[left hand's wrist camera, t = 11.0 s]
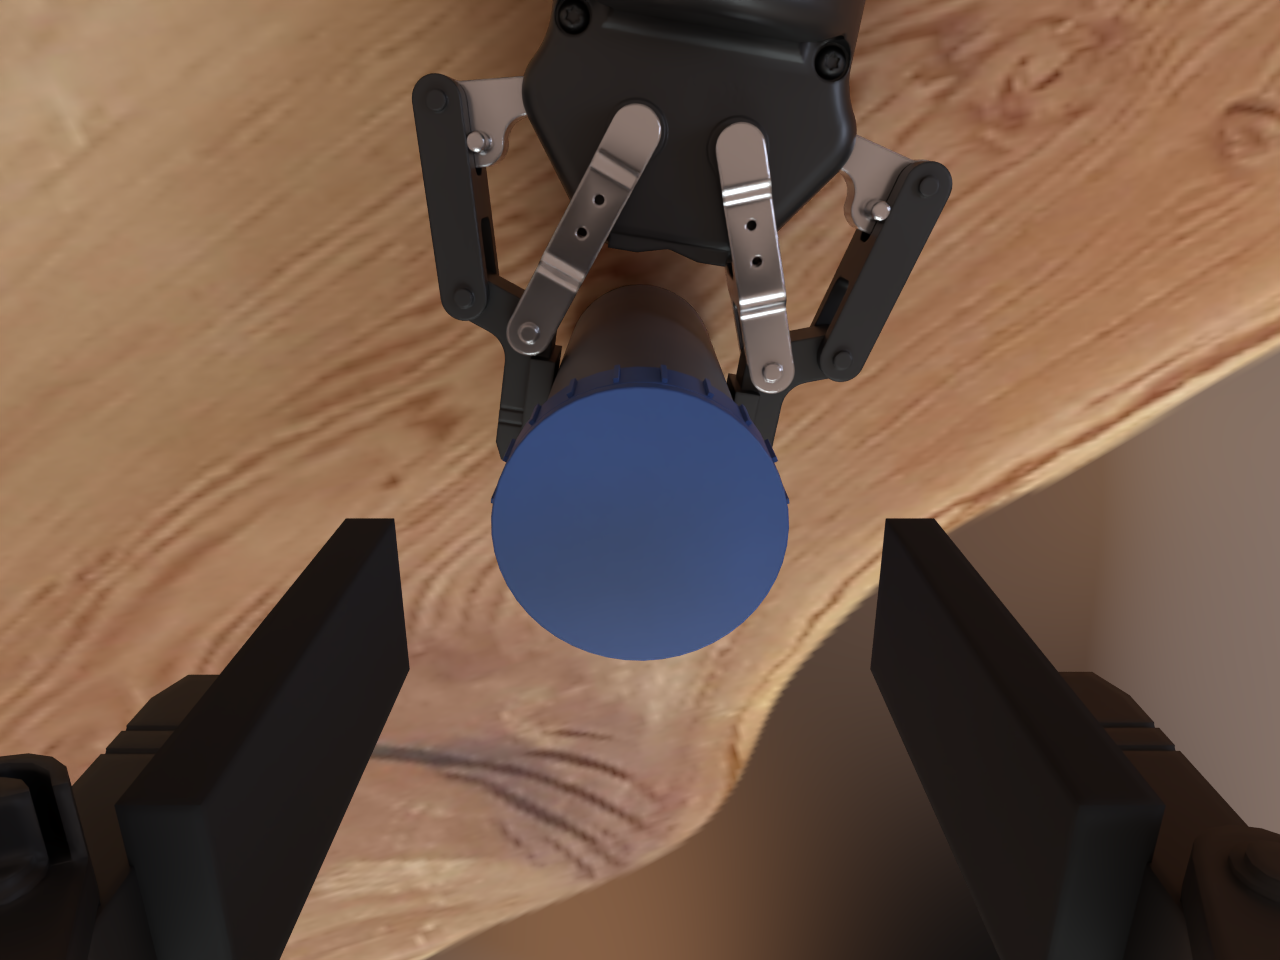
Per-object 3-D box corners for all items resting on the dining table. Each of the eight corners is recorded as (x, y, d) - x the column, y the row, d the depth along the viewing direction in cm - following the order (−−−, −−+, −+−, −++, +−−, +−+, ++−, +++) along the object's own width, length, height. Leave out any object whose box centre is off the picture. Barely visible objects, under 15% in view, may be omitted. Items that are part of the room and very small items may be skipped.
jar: (655, 450, 33) (666, 678, 18) (541, 371, 32) (461, 548, 17) (739, 340, 31) (822, 496, 17) (624, 254, 30) (609, 343, 16)
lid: (668, 667, 20) (670, 712, 18) (448, 528, 19) (430, 562, 17) (836, 471, 18) (854, 501, 17) (607, 304, 17) (604, 320, 15)
